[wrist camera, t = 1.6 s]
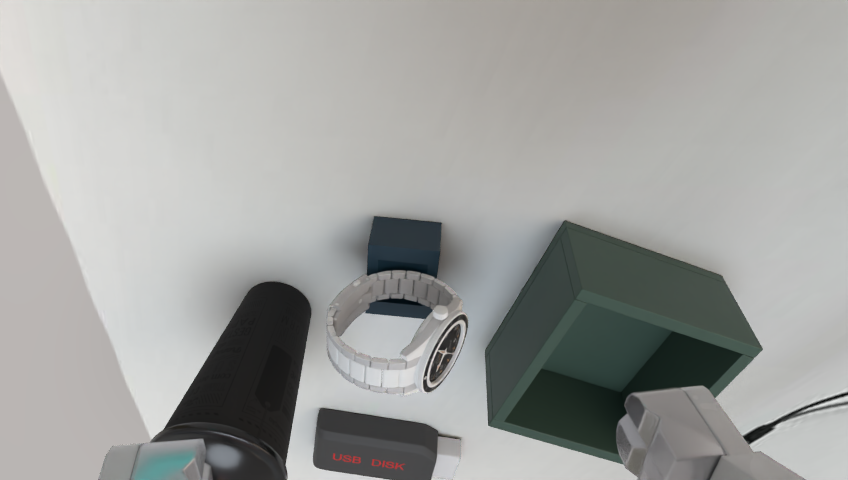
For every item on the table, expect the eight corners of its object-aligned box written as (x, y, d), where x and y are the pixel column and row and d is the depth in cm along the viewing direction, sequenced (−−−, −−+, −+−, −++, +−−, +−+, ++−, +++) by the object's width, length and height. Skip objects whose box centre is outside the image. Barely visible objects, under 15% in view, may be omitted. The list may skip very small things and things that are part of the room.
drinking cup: (217, 261, 42) (60, 548, 26) (328, 269, 42) (242, 563, 25) (231, 341, 46) (105, 630, 30) (332, 349, 46) (260, 643, 30)
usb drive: (319, 407, 50) (313, 435, 48) (463, 429, 51) (463, 458, 49) (315, 446, 53) (308, 474, 51) (450, 466, 54) (450, 495, 52)
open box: (564, 220, 39) (581, 288, 33) (722, 275, 41) (763, 349, 35) (484, 351, 46) (487, 426, 40) (622, 393, 47) (643, 470, 42)
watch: (461, 291, 42) (461, 421, 33) (345, 280, 42) (315, 406, 33) (471, 224, 39) (475, 347, 30) (346, 212, 39) (313, 332, 30)
